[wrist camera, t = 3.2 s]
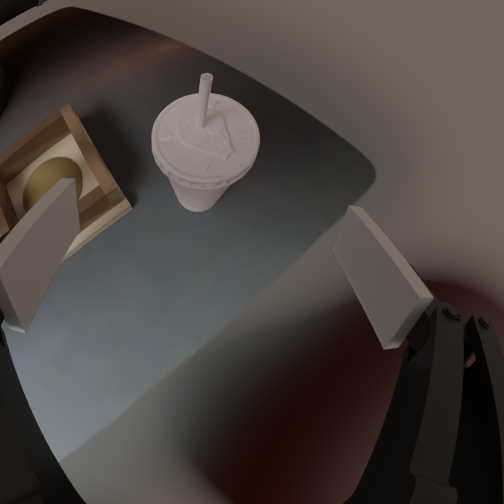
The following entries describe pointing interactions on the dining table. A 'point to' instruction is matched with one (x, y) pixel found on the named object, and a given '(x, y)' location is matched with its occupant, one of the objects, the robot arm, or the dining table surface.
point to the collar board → (59, 176)
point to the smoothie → (204, 145)
